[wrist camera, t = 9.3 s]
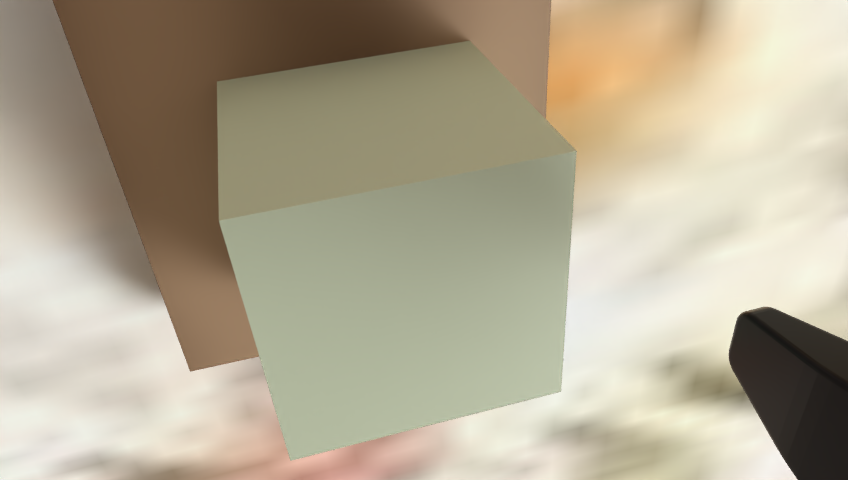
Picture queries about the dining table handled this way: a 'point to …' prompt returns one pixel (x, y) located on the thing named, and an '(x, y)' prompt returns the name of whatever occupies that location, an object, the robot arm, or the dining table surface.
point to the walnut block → (197, 111)
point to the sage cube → (395, 240)
